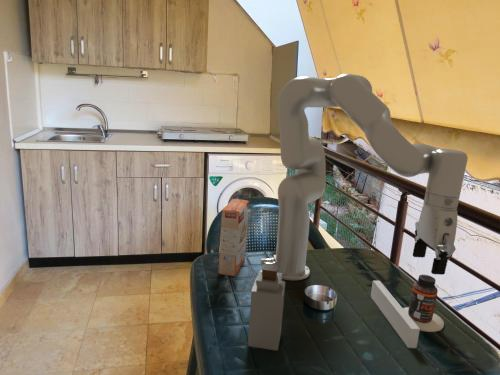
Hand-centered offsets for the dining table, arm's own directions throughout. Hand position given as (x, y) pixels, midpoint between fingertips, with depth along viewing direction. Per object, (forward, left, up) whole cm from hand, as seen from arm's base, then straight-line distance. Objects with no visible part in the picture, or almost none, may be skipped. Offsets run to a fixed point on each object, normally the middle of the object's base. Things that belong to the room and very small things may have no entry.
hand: (427, 264), depth 104 cm
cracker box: (-48, +30, -16) cm, 58 cm away
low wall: (-8, 0, -15) cm, 17 cm away
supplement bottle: (0, 0, -15) cm, 15 cm away
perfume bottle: (-42, -9, -16) cm, 45 cm away
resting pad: (0, 0, -15) cm, 15 cm away
